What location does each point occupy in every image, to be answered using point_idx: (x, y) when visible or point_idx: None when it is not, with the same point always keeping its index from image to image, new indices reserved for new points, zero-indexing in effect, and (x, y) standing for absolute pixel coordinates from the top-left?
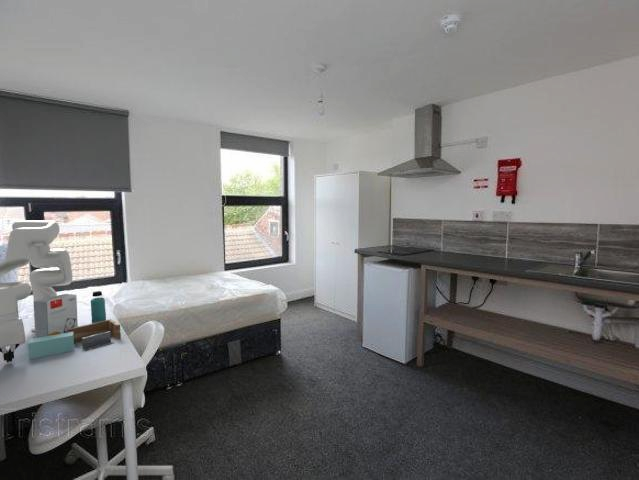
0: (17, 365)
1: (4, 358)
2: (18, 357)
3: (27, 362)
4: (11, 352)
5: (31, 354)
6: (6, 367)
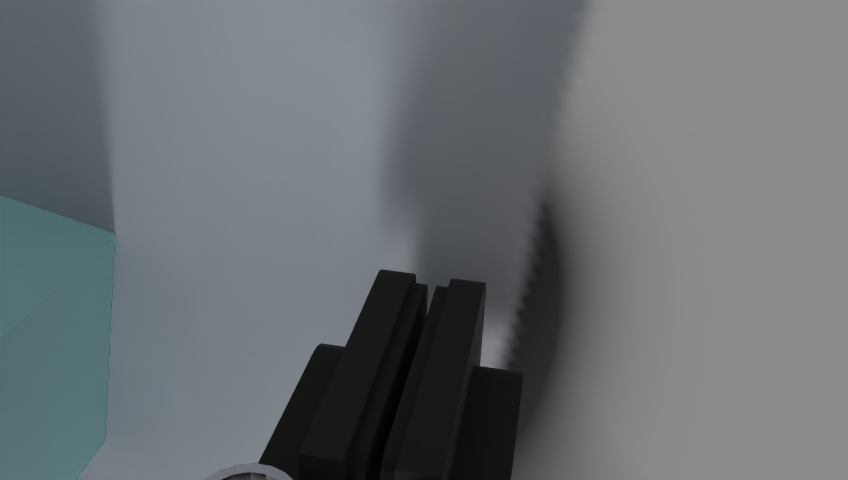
0: (332, 47)
1: (510, 407)
2: None
3: (141, 54)
4: (309, 448)
5: (6, 271)
6: (536, 136)
